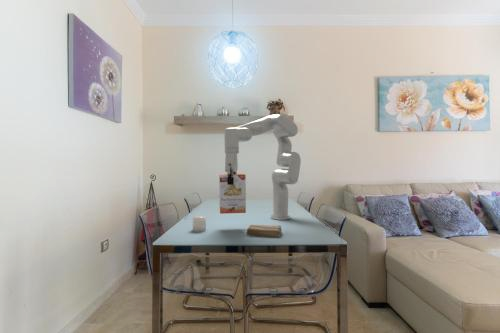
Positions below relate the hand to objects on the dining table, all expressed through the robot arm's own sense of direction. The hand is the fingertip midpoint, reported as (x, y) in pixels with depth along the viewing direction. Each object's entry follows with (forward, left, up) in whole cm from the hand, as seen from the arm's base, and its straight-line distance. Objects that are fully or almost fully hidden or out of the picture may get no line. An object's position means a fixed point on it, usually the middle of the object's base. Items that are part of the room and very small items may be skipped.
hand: (232, 183), depth 163 cm
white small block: (+7, -16, -25) cm, 30 cm away
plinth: (+8, +19, -24) cm, 32 cm away
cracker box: (0, 0, -16) cm, 16 cm away
